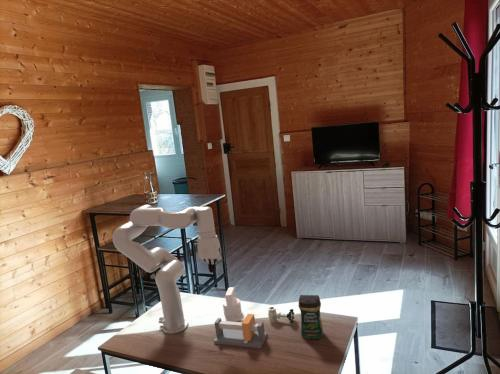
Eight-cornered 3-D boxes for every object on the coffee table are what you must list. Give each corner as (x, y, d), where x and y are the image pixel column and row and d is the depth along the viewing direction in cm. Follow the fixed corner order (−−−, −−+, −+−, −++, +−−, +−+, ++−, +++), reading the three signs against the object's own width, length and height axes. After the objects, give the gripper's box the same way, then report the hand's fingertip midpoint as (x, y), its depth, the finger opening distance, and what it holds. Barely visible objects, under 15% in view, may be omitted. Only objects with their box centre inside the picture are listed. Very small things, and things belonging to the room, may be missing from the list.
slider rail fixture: (214, 343, 169) (211, 326, 168) (223, 331, 178) (220, 314, 177) (260, 348, 161) (258, 330, 160) (267, 335, 171) (265, 317, 169)
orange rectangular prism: (243, 340, 165) (241, 323, 163) (249, 329, 172) (247, 313, 171) (250, 340, 164) (247, 323, 162) (256, 330, 171) (254, 314, 170)
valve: (267, 324, 180) (291, 326, 176) (265, 311, 179) (289, 313, 174) (271, 317, 186) (295, 319, 182) (269, 304, 185) (293, 306, 180)
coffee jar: (300, 340, 164) (296, 300, 161) (302, 329, 171) (298, 291, 168) (323, 340, 161) (319, 300, 158) (324, 330, 169) (320, 291, 166)
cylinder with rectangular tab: (226, 308, 200) (223, 287, 198) (242, 308, 198) (239, 286, 196) (222, 317, 191) (219, 295, 189) (240, 316, 190) (236, 294, 188)
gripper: (188, 236, 172) (194, 274, 175) (218, 236, 167) (224, 275, 170) (196, 231, 179) (202, 268, 182) (225, 231, 174) (230, 268, 177)
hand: (212, 271), depth 176 cm, fingers closed
